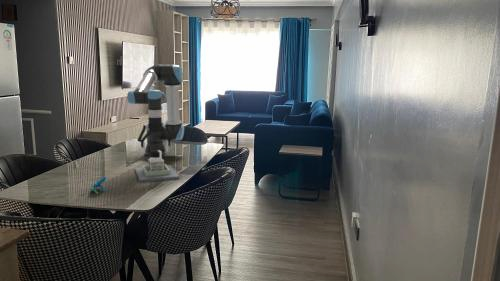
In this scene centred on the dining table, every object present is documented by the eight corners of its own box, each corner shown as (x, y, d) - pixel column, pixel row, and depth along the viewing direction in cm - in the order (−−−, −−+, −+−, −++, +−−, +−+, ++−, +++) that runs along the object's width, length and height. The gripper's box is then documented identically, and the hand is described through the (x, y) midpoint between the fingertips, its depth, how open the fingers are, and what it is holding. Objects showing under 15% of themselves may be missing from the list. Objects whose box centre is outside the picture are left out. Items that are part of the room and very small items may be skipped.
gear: (98, 183, 202) (107, 173, 198) (106, 192, 202) (115, 181, 198) (84, 192, 192) (93, 181, 188) (92, 201, 192) (101, 190, 188)
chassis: (134, 169, 235) (134, 163, 235) (170, 167, 244) (170, 161, 243) (139, 182, 212) (139, 175, 211) (179, 178, 220) (179, 172, 220)
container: (151, 174, 223) (150, 152, 220) (148, 170, 229) (148, 149, 227) (164, 172, 226) (164, 151, 223) (161, 169, 233) (161, 148, 230)
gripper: (133, 118, 213) (134, 155, 217) (177, 117, 222) (178, 152, 227) (132, 116, 220) (133, 152, 224) (175, 115, 229) (175, 149, 234)
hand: (155, 152), depth 226 cm, fingers open, 13 cm apart
